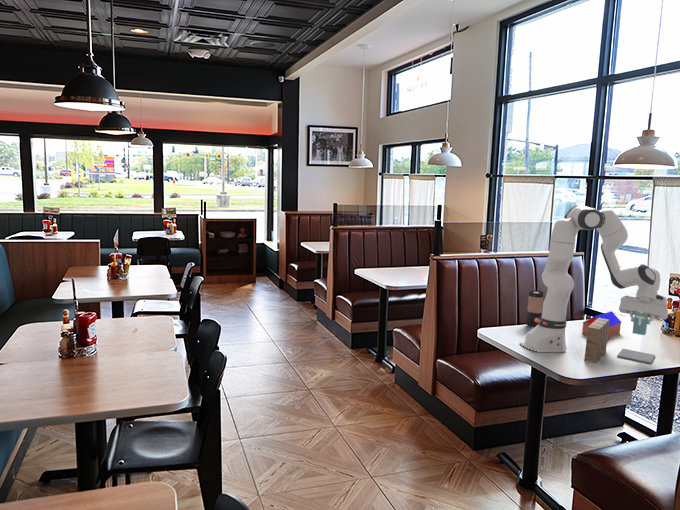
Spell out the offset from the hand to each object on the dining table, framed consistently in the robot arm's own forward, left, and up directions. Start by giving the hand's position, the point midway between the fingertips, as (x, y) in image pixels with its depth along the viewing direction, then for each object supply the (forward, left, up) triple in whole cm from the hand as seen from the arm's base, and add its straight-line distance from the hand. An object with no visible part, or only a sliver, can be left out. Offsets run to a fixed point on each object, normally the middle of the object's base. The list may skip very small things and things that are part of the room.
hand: (640, 322), depth 245 cm
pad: (0, 0, -17) cm, 17 cm away
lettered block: (+1, 0, -5) cm, 5 cm away
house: (+13, +34, -18) cm, 41 cm away
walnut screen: (-18, +7, -17) cm, 26 cm away
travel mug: (-15, +56, -17) cm, 60 cm away
